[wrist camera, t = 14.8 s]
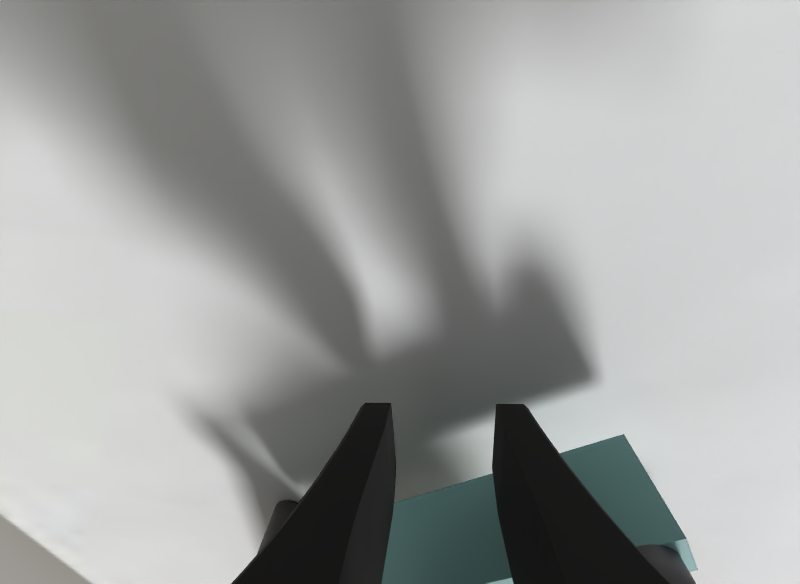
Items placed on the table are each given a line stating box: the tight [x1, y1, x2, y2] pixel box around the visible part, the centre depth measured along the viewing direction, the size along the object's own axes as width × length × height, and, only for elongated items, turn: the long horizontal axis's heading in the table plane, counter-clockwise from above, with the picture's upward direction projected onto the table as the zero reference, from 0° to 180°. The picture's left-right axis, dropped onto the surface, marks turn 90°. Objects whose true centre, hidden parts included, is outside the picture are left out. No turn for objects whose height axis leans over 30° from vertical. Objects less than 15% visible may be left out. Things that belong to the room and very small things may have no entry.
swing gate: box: [381, 434, 698, 584], centre depth 9 cm, size 10×1×3 cm, turn 118°
